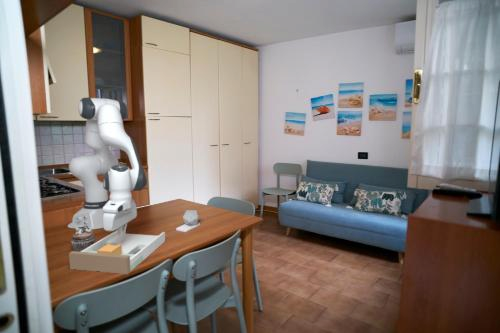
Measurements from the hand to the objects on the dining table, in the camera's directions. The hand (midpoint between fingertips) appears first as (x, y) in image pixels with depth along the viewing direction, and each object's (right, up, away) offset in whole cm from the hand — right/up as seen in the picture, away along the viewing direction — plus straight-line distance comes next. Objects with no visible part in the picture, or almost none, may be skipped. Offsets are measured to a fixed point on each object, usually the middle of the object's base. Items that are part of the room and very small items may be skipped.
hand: (121, 233), depth 138 cm
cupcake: (-19, -8, +4) cm, 21 cm away
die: (+23, -3, +39) cm, 45 cm away
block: (-1, -7, -11) cm, 13 cm away
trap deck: (+1, -8, -1) cm, 8 cm away
